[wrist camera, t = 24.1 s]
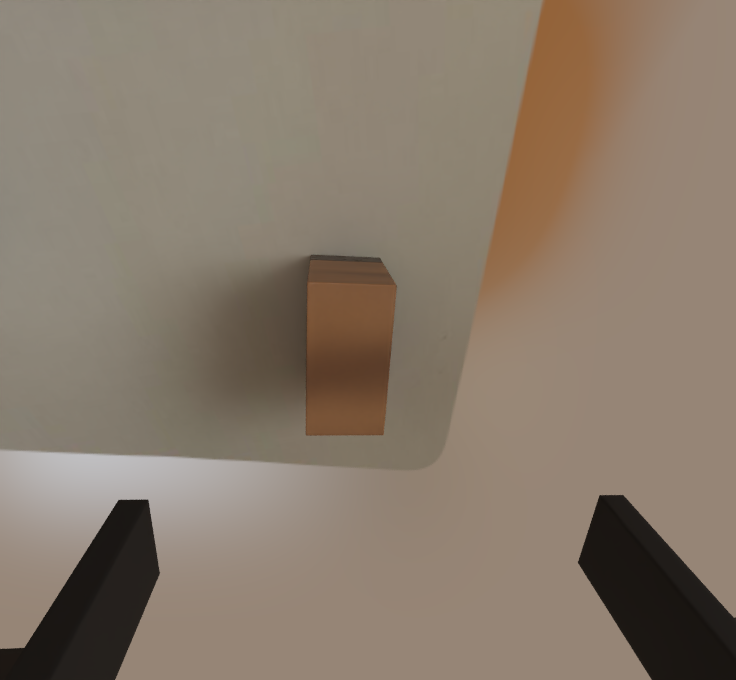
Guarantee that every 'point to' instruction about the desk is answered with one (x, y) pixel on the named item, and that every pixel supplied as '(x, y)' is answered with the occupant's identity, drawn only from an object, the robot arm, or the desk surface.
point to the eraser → (348, 345)
